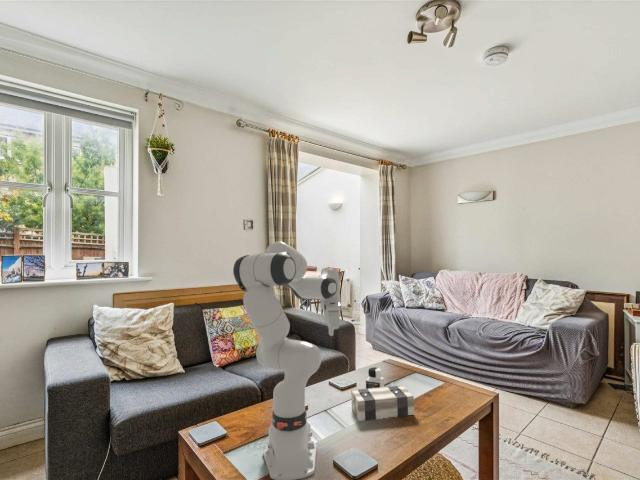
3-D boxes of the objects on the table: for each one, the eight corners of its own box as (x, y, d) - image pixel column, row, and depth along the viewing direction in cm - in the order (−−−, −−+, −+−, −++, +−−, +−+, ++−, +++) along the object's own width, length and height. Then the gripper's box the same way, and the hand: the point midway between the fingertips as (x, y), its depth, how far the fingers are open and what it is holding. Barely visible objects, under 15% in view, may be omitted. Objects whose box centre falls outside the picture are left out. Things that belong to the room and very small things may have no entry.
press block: (414, 415, 143) (413, 396, 144) (358, 421, 140) (358, 401, 140) (403, 403, 155) (402, 385, 156) (351, 408, 152) (351, 389, 152)
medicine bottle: (366, 395, 165) (365, 369, 166) (370, 389, 172) (370, 365, 172) (380, 397, 162) (379, 371, 162) (384, 391, 168) (383, 367, 169)
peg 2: (403, 409, 147) (403, 393, 147) (394, 410, 146) (394, 393, 147) (400, 405, 151) (399, 389, 151) (391, 406, 150) (390, 390, 151)
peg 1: (372, 412, 145) (371, 395, 145) (363, 413, 144) (362, 396, 145) (369, 408, 149) (369, 392, 149) (360, 409, 148) (360, 393, 148)
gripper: (320, 301, 163) (321, 330, 163) (326, 307, 143) (327, 341, 142) (333, 301, 164) (334, 330, 164) (341, 307, 144) (342, 340, 143)
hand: (331, 335), depth 153 cm, fingers closed
